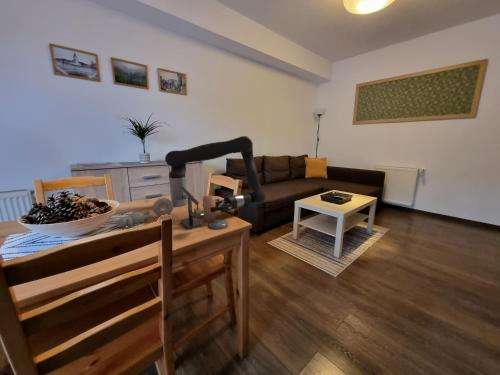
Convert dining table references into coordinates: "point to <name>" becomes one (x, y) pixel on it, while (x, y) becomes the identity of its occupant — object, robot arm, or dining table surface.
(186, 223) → the balance
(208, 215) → the tan round cylinder
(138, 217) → the bunny figurine
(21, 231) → the dining table surface
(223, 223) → the dish low side
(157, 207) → the donut
